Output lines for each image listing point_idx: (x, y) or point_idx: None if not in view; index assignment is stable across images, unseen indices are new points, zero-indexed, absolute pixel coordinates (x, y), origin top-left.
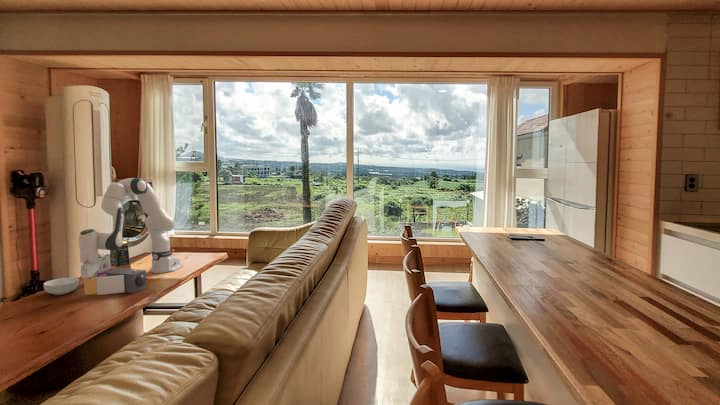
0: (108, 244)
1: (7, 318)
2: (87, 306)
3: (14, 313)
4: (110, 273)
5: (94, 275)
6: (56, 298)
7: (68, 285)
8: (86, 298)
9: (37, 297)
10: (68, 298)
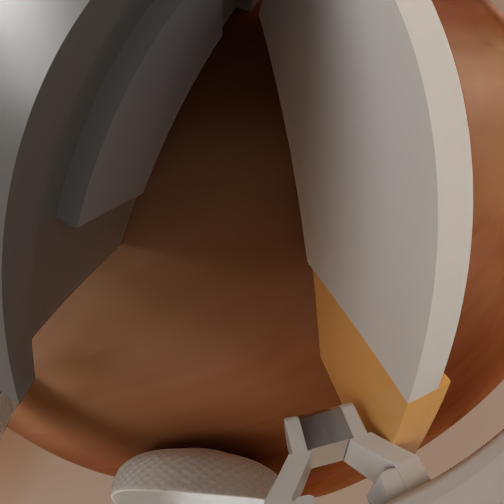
0: None
1: (455, 422)
2: (497, 222)
3: (424, 440)
4: (20, 246)
5: (2, 416)
6: None
7: (262, 488)
8: None
9: None
10: None
